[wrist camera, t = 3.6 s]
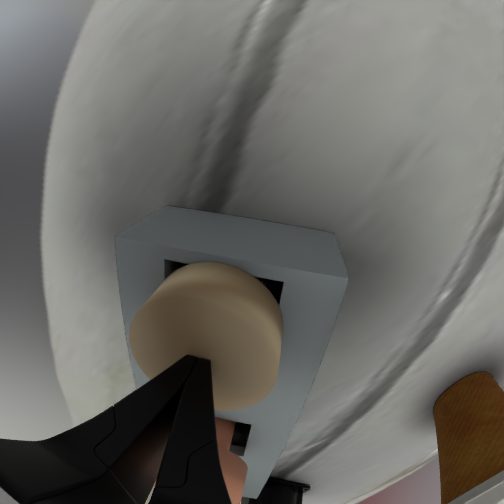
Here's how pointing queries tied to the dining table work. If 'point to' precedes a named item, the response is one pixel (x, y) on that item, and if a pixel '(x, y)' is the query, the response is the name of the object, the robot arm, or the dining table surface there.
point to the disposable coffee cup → (471, 441)
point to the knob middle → (230, 460)
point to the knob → (213, 330)
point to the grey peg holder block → (259, 265)
